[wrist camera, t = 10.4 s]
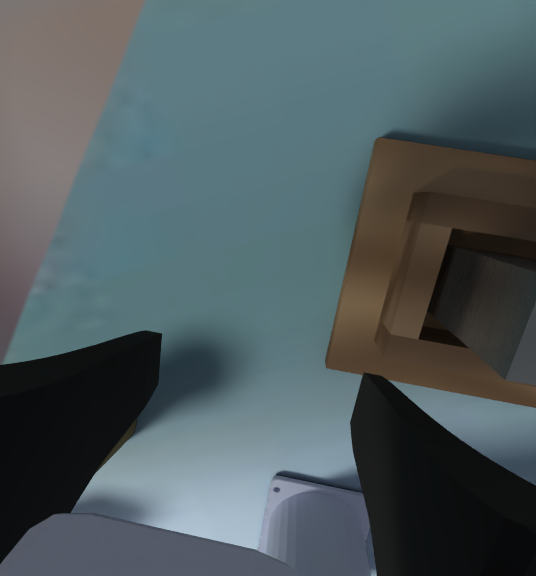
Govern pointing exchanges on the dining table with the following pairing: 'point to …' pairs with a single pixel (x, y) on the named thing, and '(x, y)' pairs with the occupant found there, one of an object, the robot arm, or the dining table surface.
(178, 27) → the dining table surface
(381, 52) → the dining table surface
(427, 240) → the socket holder
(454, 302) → the metal pin
